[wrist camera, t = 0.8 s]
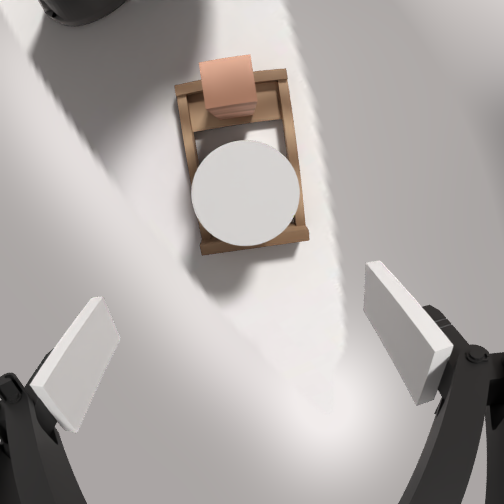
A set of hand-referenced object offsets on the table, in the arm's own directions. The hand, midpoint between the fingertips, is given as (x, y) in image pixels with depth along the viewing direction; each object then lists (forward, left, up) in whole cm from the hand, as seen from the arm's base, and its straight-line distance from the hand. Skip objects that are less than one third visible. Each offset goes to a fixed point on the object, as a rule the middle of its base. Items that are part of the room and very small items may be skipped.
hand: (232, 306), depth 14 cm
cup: (-3, +1, -22) cm, 23 cm away
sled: (-5, +1, -22) cm, 23 cm away
